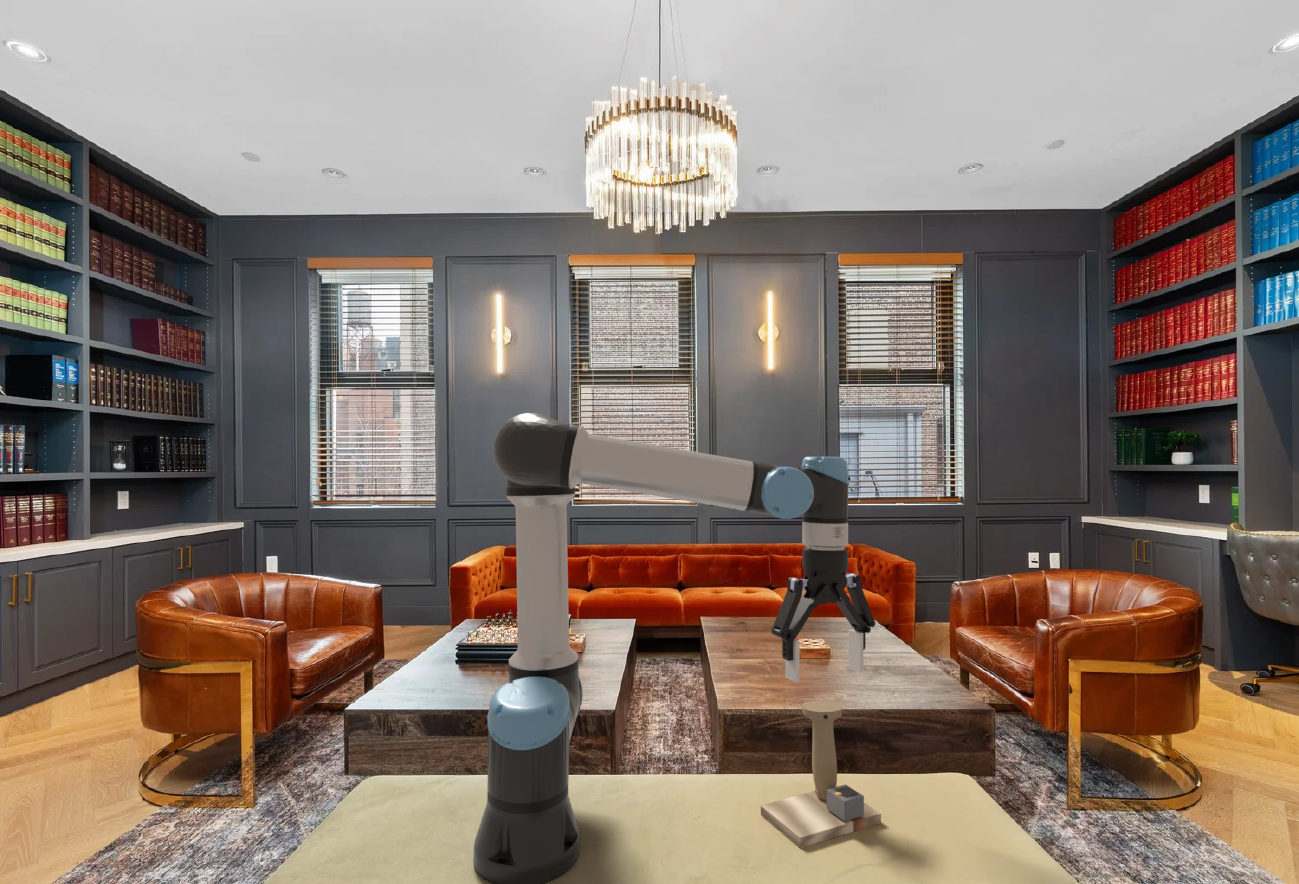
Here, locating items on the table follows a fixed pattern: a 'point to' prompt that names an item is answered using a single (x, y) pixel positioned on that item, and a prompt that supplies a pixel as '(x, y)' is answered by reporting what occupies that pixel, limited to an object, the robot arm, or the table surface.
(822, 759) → the handle
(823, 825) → the plank
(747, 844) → the table surface
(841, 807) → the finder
